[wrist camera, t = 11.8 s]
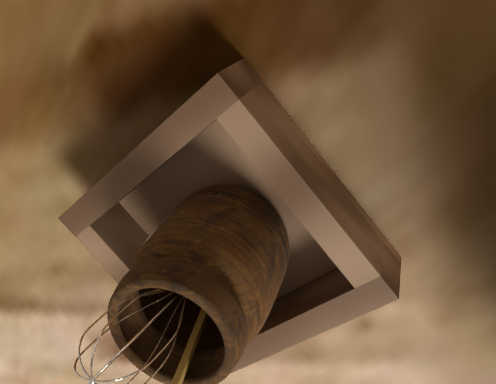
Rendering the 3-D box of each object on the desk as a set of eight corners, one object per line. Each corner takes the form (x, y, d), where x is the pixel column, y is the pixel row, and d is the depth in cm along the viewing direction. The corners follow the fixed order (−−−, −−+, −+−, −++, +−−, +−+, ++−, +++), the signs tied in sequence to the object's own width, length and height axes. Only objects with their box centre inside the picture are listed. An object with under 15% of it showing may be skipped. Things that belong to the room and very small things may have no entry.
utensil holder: (287, 179, 21) (161, 404, 10) (299, 298, 23) (207, 572, 13) (165, 178, 22) (-44, 367, 12) (189, 288, 25) (33, 520, 15)
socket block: (401, 251, 21) (398, 299, 18) (231, 335, 27) (208, 382, 24) (248, 55, 20) (217, 72, 17) (100, 187, 25) (58, 217, 22)
